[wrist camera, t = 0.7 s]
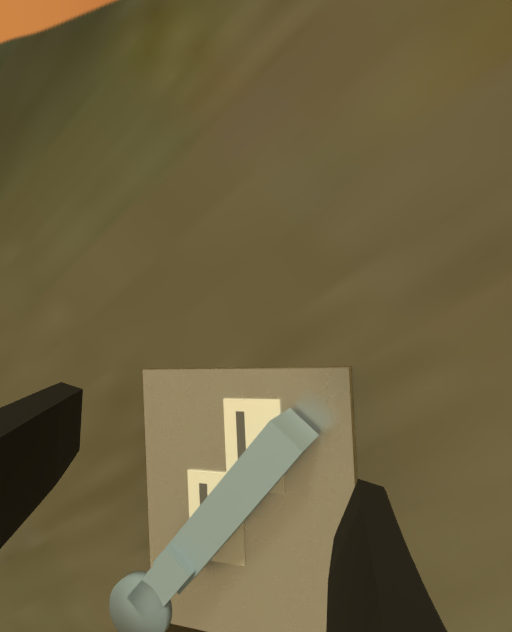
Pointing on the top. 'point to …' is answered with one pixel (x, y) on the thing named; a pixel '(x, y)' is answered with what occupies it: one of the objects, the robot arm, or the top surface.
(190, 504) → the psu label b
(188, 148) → the top surface
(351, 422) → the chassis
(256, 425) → the power supply label
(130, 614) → the swing arm
